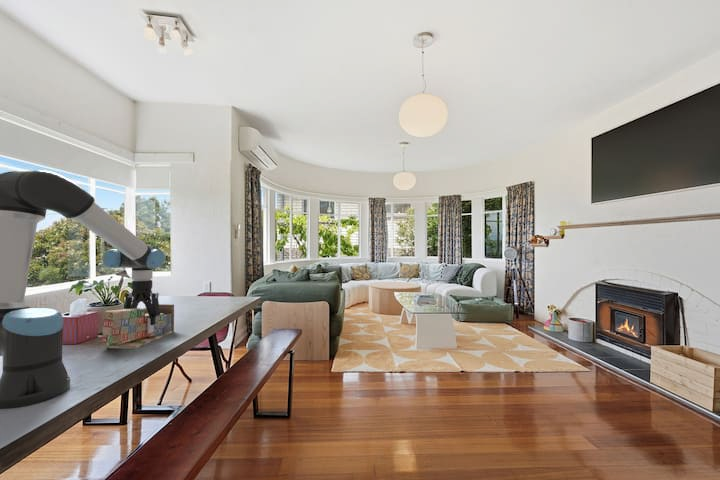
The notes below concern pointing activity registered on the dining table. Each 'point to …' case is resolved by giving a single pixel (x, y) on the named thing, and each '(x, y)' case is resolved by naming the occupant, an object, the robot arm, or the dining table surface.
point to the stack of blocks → (129, 325)
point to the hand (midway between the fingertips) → (141, 332)
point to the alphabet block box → (136, 343)
